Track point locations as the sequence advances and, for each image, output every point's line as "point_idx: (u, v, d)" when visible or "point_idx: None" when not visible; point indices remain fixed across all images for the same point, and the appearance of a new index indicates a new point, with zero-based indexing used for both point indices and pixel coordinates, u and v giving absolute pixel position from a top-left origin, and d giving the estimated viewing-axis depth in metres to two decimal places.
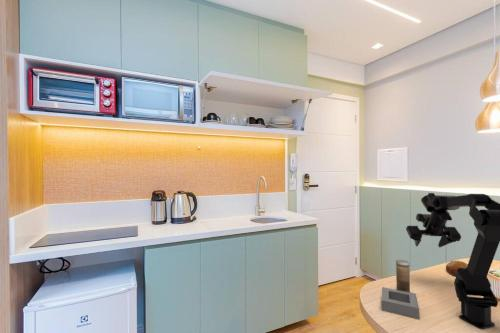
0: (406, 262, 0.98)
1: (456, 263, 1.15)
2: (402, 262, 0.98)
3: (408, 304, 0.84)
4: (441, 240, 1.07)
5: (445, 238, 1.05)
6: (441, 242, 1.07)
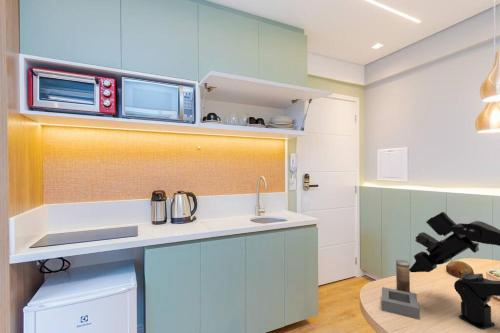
0: (406, 262, 0.98)
1: (456, 263, 1.14)
2: (402, 262, 0.98)
3: (408, 304, 0.84)
4: None
5: None
6: None
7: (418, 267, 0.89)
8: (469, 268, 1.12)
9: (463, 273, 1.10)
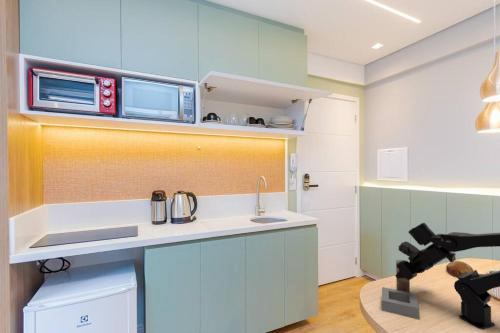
0: None
1: (456, 263, 1.14)
2: None
3: (408, 304, 0.84)
4: None
5: None
6: None
7: (403, 273, 0.95)
8: (469, 268, 1.12)
9: (463, 273, 1.10)
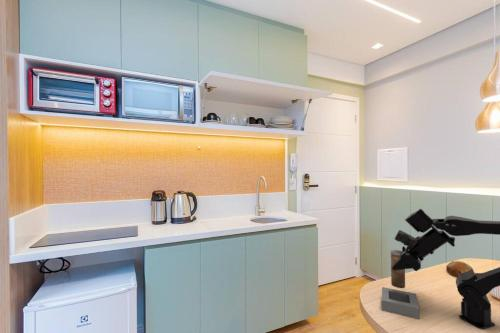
0: None
1: (456, 263, 1.14)
2: (398, 252, 0.92)
3: (408, 304, 0.84)
4: None
5: None
6: None
7: (402, 264, 0.89)
8: (469, 268, 1.12)
9: None
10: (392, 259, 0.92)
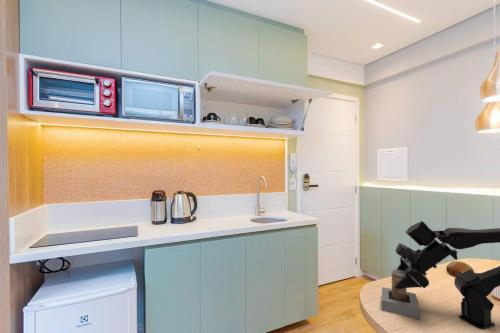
0: (402, 271, 0.89)
1: (456, 263, 1.14)
2: (399, 272, 0.88)
3: (408, 304, 0.84)
4: None
5: None
6: None
7: (407, 283, 0.83)
8: (470, 268, 1.11)
9: None
10: (394, 280, 0.88)
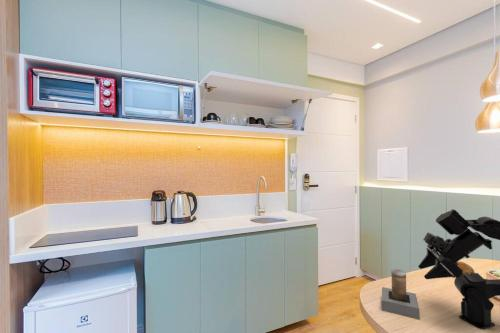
0: (401, 271, 0.89)
1: None
2: (399, 272, 0.88)
3: (408, 304, 0.84)
4: (427, 261, 0.89)
5: (435, 259, 0.89)
6: (427, 263, 0.89)
7: (438, 273, 0.80)
8: (470, 269, 1.11)
9: None
10: (394, 280, 0.88)
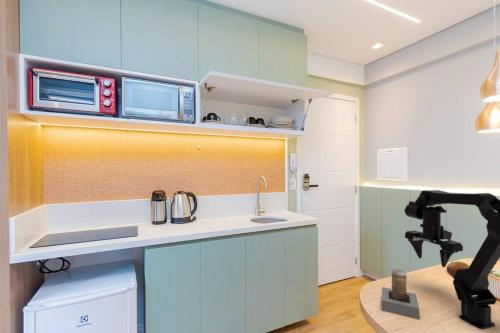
0: (402, 271, 0.89)
1: (457, 264, 1.14)
2: (399, 272, 0.88)
3: (408, 304, 0.84)
4: None
5: None
6: None
7: None
8: None
9: None
10: (394, 280, 0.88)
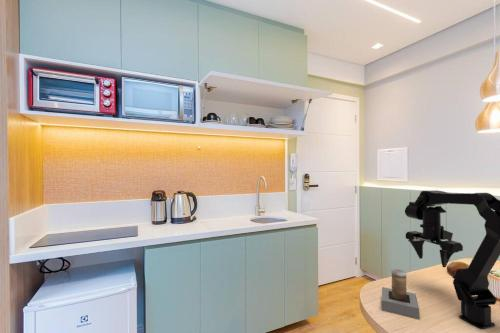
0: (402, 271, 0.89)
1: (457, 264, 1.13)
2: (399, 272, 0.88)
3: (408, 304, 0.84)
4: None
5: None
6: None
7: None
8: None
9: None
10: (394, 280, 0.88)
